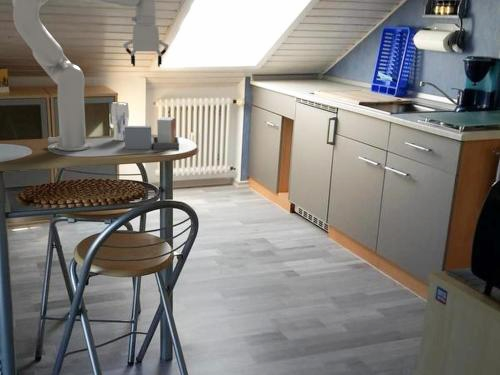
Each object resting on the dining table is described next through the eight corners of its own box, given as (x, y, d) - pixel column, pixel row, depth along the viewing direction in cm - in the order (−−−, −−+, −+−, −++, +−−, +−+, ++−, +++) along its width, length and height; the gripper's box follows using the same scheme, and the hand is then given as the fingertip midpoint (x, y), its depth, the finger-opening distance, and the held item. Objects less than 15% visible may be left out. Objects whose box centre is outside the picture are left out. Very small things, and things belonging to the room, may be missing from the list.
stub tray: (152, 149, 231) (152, 143, 230) (152, 143, 242) (152, 137, 242) (178, 149, 232) (178, 143, 232) (177, 143, 244) (177, 137, 243)
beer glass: (130, 138, 250) (129, 102, 246) (128, 141, 244) (127, 104, 240) (114, 137, 250) (112, 101, 246) (110, 141, 243) (109, 104, 239)
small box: (171, 147, 233) (171, 120, 230) (157, 146, 234) (157, 119, 231) (176, 143, 241) (175, 117, 238) (162, 142, 241) (162, 116, 238)
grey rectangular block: (125, 148, 231) (124, 127, 228) (125, 146, 235) (125, 125, 233) (151, 148, 232) (151, 127, 230) (151, 146, 237) (151, 125, 235)
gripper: (122, 20, 226) (123, 66, 231) (168, 21, 228) (168, 67, 233) (123, 20, 233) (124, 65, 238) (168, 21, 236) (168, 65, 240)
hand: (146, 66), depth 235 cm, fingers open, 9 cm apart
